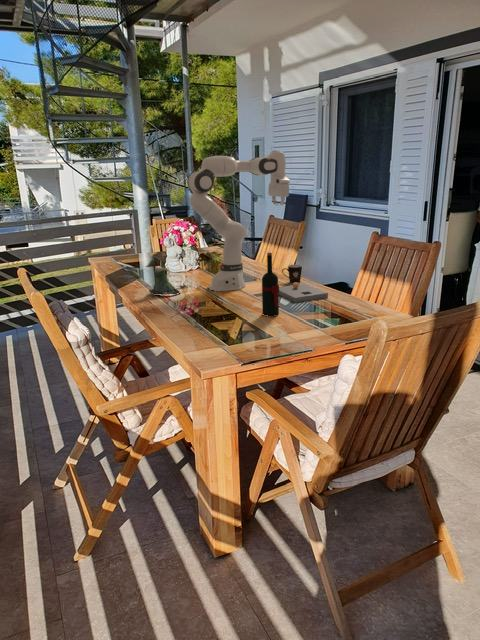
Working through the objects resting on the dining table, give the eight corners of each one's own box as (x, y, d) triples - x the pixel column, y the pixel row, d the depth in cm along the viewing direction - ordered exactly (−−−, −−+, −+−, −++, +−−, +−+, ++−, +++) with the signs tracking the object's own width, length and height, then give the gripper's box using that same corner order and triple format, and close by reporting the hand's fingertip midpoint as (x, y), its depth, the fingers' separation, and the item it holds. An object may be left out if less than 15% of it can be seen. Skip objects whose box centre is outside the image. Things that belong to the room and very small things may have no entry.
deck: (295, 302, 251) (295, 297, 250) (273, 292, 273) (273, 287, 272) (327, 297, 258) (328, 292, 257) (304, 287, 280) (304, 283, 279)
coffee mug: (303, 280, 296) (303, 264, 293) (299, 284, 289) (299, 267, 286) (286, 279, 301) (285, 264, 298) (281, 282, 294) (281, 266, 291)
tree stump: (190, 292, 282) (184, 264, 273) (165, 308, 270) (157, 279, 261) (170, 286, 293) (163, 260, 284) (145, 301, 282) (137, 273, 273)
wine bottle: (271, 318, 226) (269, 255, 217) (259, 313, 234) (257, 252, 225) (284, 315, 230) (284, 253, 220) (272, 310, 238) (271, 250, 229)
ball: (294, 289, 267) (294, 283, 266) (291, 288, 270) (291, 282, 269) (300, 288, 268) (300, 282, 267) (296, 287, 271) (296, 281, 270)
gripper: (265, 180, 289) (266, 203, 293) (281, 180, 271) (281, 205, 275) (275, 179, 291) (275, 203, 295) (291, 180, 273) (291, 205, 277)
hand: (278, 204), depth 285 cm, fingers open, 8 cm apart
